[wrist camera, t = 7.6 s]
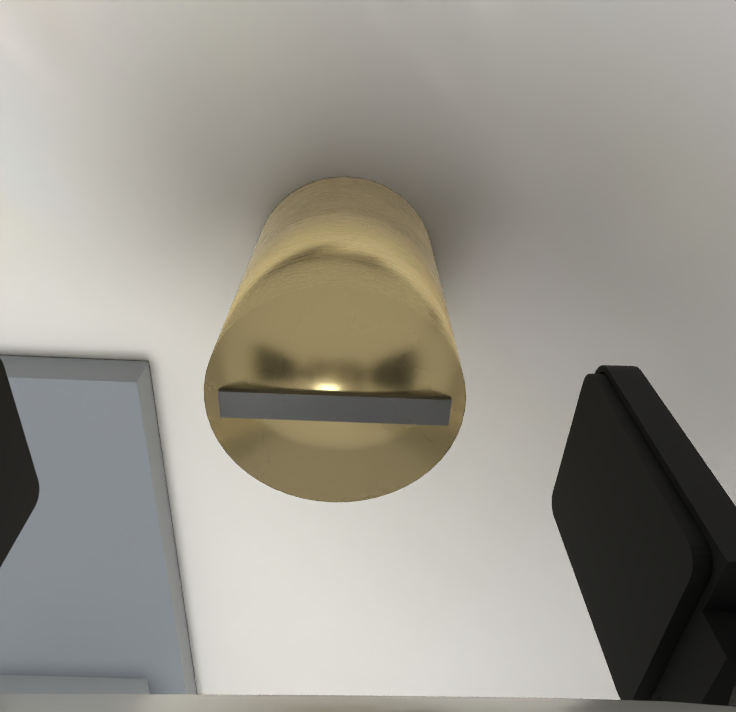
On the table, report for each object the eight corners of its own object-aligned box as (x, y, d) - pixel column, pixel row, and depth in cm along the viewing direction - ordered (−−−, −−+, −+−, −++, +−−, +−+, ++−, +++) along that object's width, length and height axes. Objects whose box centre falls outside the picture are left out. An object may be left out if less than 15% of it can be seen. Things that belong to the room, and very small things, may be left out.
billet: (441, 181, 17) (484, 295, 11) (424, 343, 20) (450, 510, 14) (253, 172, 17) (190, 282, 11) (260, 337, 20) (213, 502, 13)
